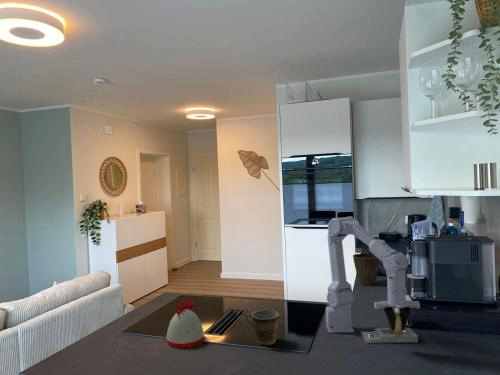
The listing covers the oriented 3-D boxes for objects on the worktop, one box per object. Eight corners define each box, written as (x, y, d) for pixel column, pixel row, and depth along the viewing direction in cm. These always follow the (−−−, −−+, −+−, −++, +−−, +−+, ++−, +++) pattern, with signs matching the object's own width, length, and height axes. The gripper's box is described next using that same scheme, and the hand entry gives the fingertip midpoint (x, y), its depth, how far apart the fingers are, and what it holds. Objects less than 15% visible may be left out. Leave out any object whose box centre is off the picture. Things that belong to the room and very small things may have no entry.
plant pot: (349, 281, 221) (348, 253, 221) (374, 279, 223) (373, 252, 223) (359, 288, 206) (359, 258, 206) (386, 286, 208) (385, 257, 208)
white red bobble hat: (211, 339, 144) (210, 299, 144) (181, 351, 134) (180, 308, 134) (188, 330, 153) (187, 293, 153) (159, 341, 143) (158, 301, 143)
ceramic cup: (283, 338, 142) (282, 311, 142) (274, 349, 133) (273, 320, 133) (252, 333, 148) (251, 307, 148) (240, 343, 139) (239, 316, 139)
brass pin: (394, 336, 127) (394, 315, 127) (391, 332, 130) (391, 312, 130) (403, 335, 127) (403, 315, 127) (400, 332, 130) (400, 312, 130)
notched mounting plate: (366, 343, 135) (366, 334, 135) (361, 334, 143) (360, 327, 143) (417, 342, 135) (417, 334, 135) (409, 334, 142) (409, 326, 142)
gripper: (378, 293, 125) (379, 334, 125) (423, 292, 124) (424, 333, 125) (372, 287, 132) (373, 326, 132) (414, 286, 131) (415, 325, 132)
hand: (397, 329), depth 129 cm, fingers closed on brass pin, 3 cm apart
